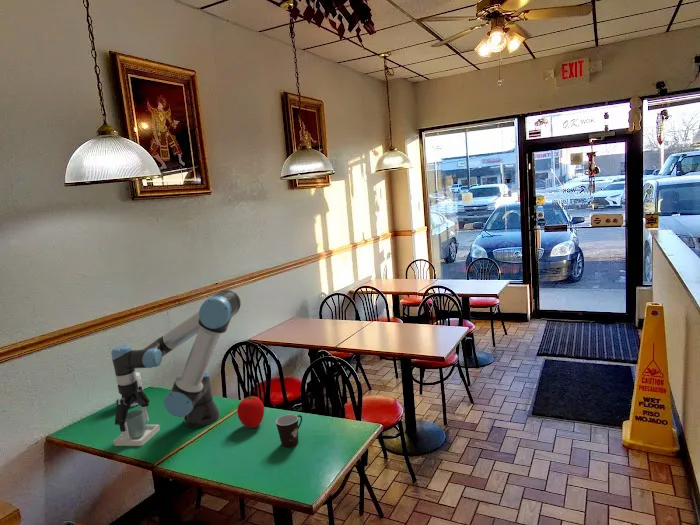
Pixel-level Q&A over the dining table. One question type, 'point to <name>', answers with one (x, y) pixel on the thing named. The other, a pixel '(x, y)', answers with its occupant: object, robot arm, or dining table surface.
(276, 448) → the dining table surface
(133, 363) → the robot arm
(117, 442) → the dish
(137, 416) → the cup
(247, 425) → the tomato
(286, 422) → the coffee mug
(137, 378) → the supplement tub
